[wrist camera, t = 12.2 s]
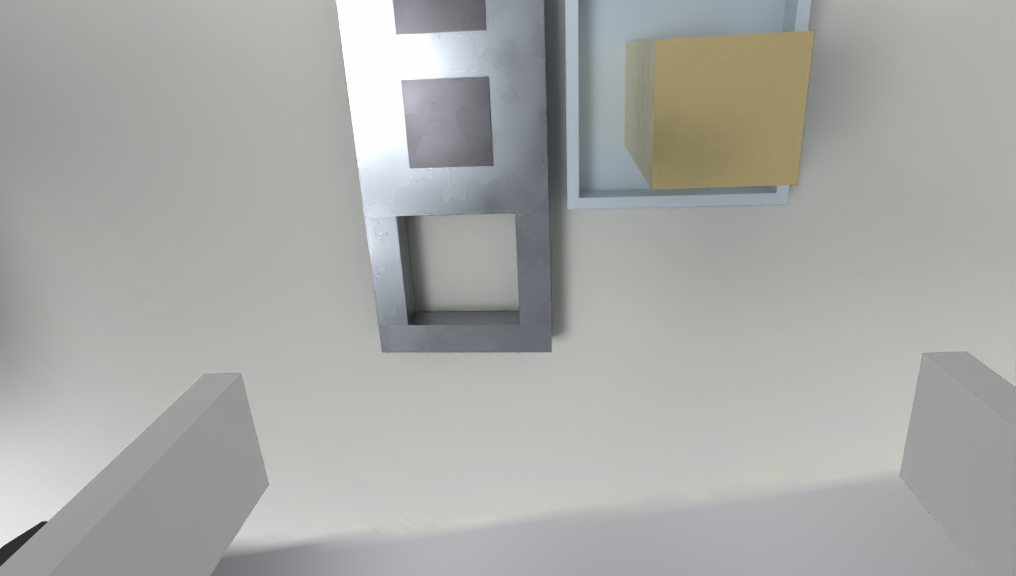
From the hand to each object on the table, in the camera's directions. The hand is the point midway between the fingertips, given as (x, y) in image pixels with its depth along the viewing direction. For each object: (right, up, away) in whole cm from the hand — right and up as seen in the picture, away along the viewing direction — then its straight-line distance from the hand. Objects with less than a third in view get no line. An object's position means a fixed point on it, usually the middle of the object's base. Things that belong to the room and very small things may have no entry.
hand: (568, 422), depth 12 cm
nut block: (+7, +13, +19) cm, 24 cm away
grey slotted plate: (-4, +10, +22) cm, 24 cm away
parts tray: (+7, +13, +20) cm, 25 cm away
